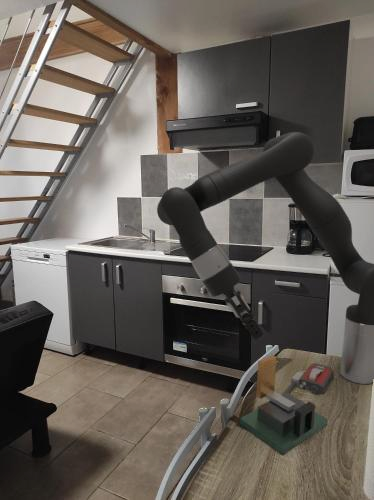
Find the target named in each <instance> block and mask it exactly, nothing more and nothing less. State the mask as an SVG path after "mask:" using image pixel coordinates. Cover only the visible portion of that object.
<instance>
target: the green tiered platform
mask: <svg viewBox="0 0 374 500" xmlns="http://www.w3.org/2000/svg"><path fill="white" fill-rule="evenodd" d="M280 395H281V396H283V397H285V398H287V399H288V400H290V401H292V402H294V403H295V404H296V406H295V408H294V409H292V410H291V411H289V412H288V411H287V410H285V409H283V408H282V407H280V406H278V405H277V404H275V403H273V402H272V401H270V400H268V401H266V402H265V403H263V404H261V405H259V406H257V409H254V410H253V411H251V412H249V413H247V414H245V415H243V416H241V417H240V419H239V425H241V426H242V427H243V428H245V429H246V430H247V431H249V432H250V433H251V434H253V435H254V436H256V437H257V438H258V439H260V440H261V441H262V442H264V443H265V444H266V445H268V446H269V447H270V448H272V449H274V450H275V451H276V452H277V453H279V454H281V455H284V454H286V453H288V452H289V451H290V450H292V449H293V448H295V447H297V446H299V444H301V443H302V442H304V441H305V440H306V439H308V438H310V437H311V436H312V435H314V434H315V433H317V432H318V431H320V430H321V429H323V428H324V427H325V426H327V425H328V418H327V417H325V416H324V415H322V414H321V413H319V412H316V404H315V403H313V402H311V401H308V402H305V401H303V400H301V399H299V398H297V397H295V396H293V395H291V394H290V393H286V392H285V393H284V394H283V393H282V394H280Z"/></svg>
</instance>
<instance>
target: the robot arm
mask: <svg viewBox="0 0 374 500" xmlns="http://www.w3.org/2000/svg"><path fill="white" fill-rule="evenodd" d="M314 154H315V146H314V142H313V140H311V138H310V136H308V135H307V134H306V133H303V132H301V131H299V132H298V131H293V132H291V131H290V132H287V133H285V134H282V135H277V136H276V137H274V138H271V139H269V140H268V141H266V143H265V145H264V146H263V149H262V152H260V153H258V154H256V155H253V156H251V157H249V158H246V159H243V160H240V161H236V162H235V163H231V164H228V165H226V166H223V167H221V168H218V169H216V170H214V171H212V172H209V173H208V174H206V175H203V176H201V177H199V178H198V179H196V180H195V181H194V182H193V183H191V185H189V186H187V187H184V188H182V187H178V186H176V187H171V188H169V189H167V190H166V191H165V192H164V193H163V194H162V197H160V200H159V202H158V204H157V208H156V214H157V216H158V218H159V219H160V221H161V222H162V223H164V224H166V225H168V226H172V227H173V228H174V229H175V232H176V233H177V235H178V237H179V240H178V241H179V244H180V247H181V249H182V251H183V252H184V253H185V255H186V256H187V258H188V259H189V261H190V263H191V265H192V267H193V268H194V270H195V272H196V274H197V275H198V277H199V279H200V280H201V282H202V283H203V285H204V286H205V288H206V290H207V291H208V292H209V295H211V297H214V298H215V297H218V296H221V295H223V296H224V297H225V298H224V299H223V302H225V304H226V305H227V307H228V308H229V309H230V310H231V311H232V312H233V314H234V316H235V317H236V318H239V319H240V321H241V323H242V325H244V327H245V328H246V330H247V331H248V332H249V334H250V335H251V337H252V339H254V340H255V341H256V340H259V338H261V337H263V336H264V333H263V331H262V329H261V327H259V325H258V323H257V321H255V316H254V314H253V313H251V307H250V306H249V305H248V303H247V301H246V300H245V297H244V295H243V293H242V292H241V291H240V290H235V286H237V285H238V284H239V283H240V282H241V278H242V277H241V276H240V274H239V273H238V271H237V269H236V268H235V267H234V265H233V263H232V262H231V260H230V259H229V257H228V256H227V254H226V253H225V251H224V250H223V249H222V248H221V246H220V245H219V244H218V243H217V241H216V239H215V238H214V236H213V235H212V233H211V231H210V230H209V229H208V228H207V225H206V223H205V219H204V218H203V215H202V213H201V212H204V211H205V210H206V209H207V210H208V209H209V208H211V207H214V206H216V205H220V204H221V203H224V202H225V201H227V200H229V199H231V198H233V197H235V196H236V195H239V194H241V193H243V192H245V191H247V190H249V189H251V188H253V187H255V186H257V185H259V184H261V183H264V182H266V181H269V180H271V179H275V180H276V181H277V182H278V184H279V185H280V186H281V187H282V188H283V189H284V191H285V192H286V193H287V195H288V196H289V197H290V199H291V200H292V202H293V204H294V205H295V206H296V208H297V209H298V211H299V212H300V213H301V215H302V217H303V219H304V220H305V221H306V224H307V225H308V227H309V229H310V230H311V231H312V233H313V234H314V236H315V237H316V238H317V240H318V242H320V244H321V246H322V247H323V248H324V251H325V252H326V253H327V254H328V256H329V257H330V259H331V260H332V262H333V264H334V266H335V268H336V270H337V271H338V274H339V276H340V278H341V280H342V282H343V283H344V285H345V286H346V288H348V289H349V290H350V291H351V292H353V293H355V294H357V295H359V296H358V302H357V304H351V305H349V306H347V308H346V310H345V319H344V320H345V321H344V329H343V330H344V332H343V343H342V352H341V362H340V370H339V371H340V372H339V373H340V375H341V376H342V378H344V379H346V380H348V381H349V382H353V383H355V384H361V385H369V384H373V383H374V382H373V379H374V263H371V262H368V261H366V260H365V259H364V258H363V257H362V256H361V254H359V252H358V250H357V249H356V247H355V245H354V243H353V231H352V230H353V228H352V224H351V220H350V218H349V216H348V215H347V213H346V211H345V210H344V208H343V207H342V205H341V203H340V202H339V201H338V199H336V198H335V197H334V196H333V195H332V194H331V193H330V192H328V191H327V190H325V189H324V188H323V187H321V186H320V185H319V184H317V183H316V182H315V181H314V180H313V179H312V178H311V177H310V176H309V174H307V172H306V171H305V169H306V168H307V166H309V165H310V163H311V162H312V160H313V158H314ZM372 382H373V383H372Z"/></svg>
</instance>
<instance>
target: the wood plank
mask: <svg viewBox="0 0 374 500" xmlns="http://www.w3.org/2000/svg"><path fill="white" fill-rule="evenodd" d="M276 368H277V356H275V355H273V354H271V355H270V356H267V357H264V358H262V359H260V360H258V361H257V379H256V397H257V398H259V399H263V398H265V399H267V400H268V401H272V402H273V403H275V404H277V405H278V406H280V407H282V408H283V409H285V410H287V411H288V412H289V411H291V410H292V409H294V408H295V406H296V404H295V403H294V402H292V401H290V400H288V399H287V398H285V397H283V396H281V395H282V394H279V393H278V392H276V391H275V386H276V384H275V383H276V370H277V369H276Z"/></svg>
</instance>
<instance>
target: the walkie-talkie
mask: <svg viewBox="0 0 374 500" xmlns="http://www.w3.org/2000/svg"><path fill="white" fill-rule="evenodd" d="M334 372H335V371H334V370H333V368H332V367H329V366H326V365H322V364H319V363H312V364H310V365H309V367H307V369H306V370H303V371H296V373H295V374H294V375H293V376H292V377H291V379H290V384H289V385H288V386H287V388H286V389H285V390H284V391H283V392H282V394H284V393H285V392H286V393H288V394H290V392H291V391H292V389H294V387H297V388H298V387H299V389H301V390H305V391H309V392H311V393H312V394H316V395H324V394H325V392H326V390H327V388H328V386H330V384H331V382H332V381H333V379H334V374H335V373H334Z"/></svg>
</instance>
